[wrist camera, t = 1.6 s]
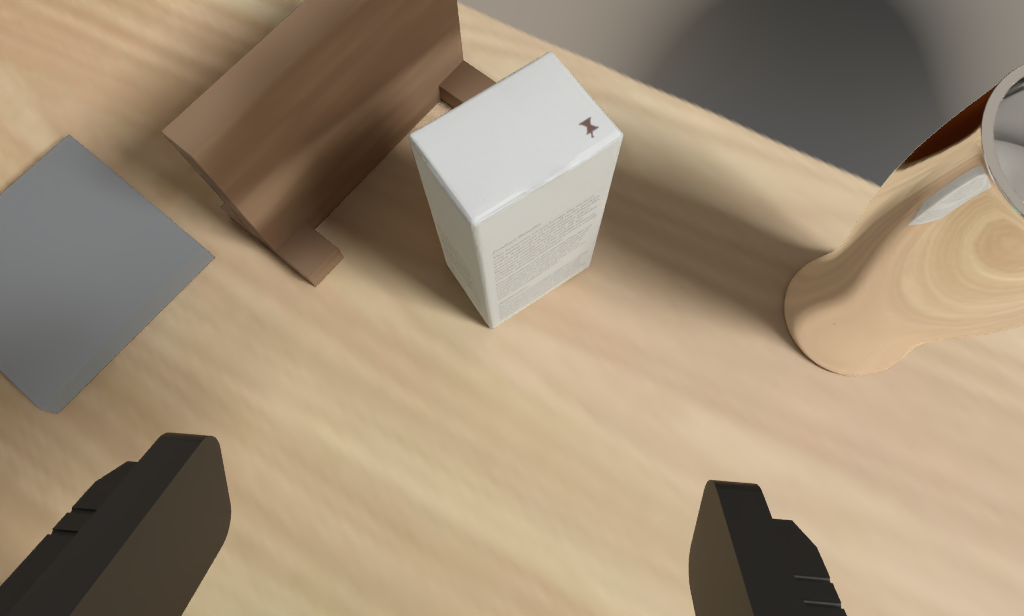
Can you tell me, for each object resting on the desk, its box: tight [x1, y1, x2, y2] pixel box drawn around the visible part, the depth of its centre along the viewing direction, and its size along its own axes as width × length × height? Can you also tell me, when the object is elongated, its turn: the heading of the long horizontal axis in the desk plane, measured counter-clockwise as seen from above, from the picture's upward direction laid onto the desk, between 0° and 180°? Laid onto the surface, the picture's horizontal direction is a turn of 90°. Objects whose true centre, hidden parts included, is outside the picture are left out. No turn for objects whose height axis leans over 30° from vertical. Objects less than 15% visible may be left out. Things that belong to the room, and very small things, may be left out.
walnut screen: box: [161, 0, 496, 287], centre depth 30 cm, size 6×14×10 cm, turn 141°
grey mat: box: [0, 135, 215, 414], centre depth 33 cm, size 10×10×1 cm
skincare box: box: [409, 52, 623, 329], centre depth 28 cm, size 6×4×12 cm
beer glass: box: [784, 64, 1024, 376], centre depth 25 cm, size 7×7×15 cm
